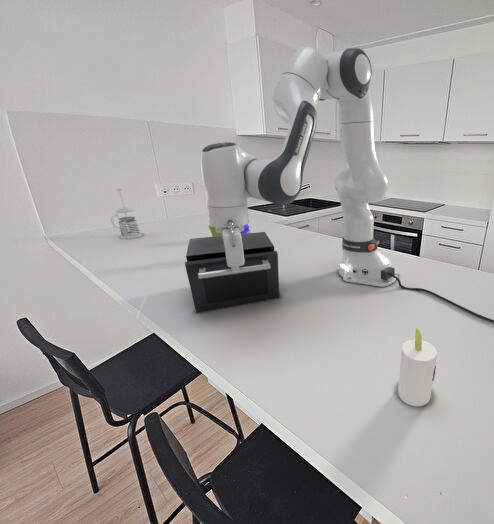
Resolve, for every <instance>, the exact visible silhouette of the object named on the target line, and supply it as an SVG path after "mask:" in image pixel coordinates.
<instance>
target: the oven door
mask: <svg viewBox="0 0 494 524" xmlns="http://www.w3.org/2000/svg"><path fill="white" fill-rule="evenodd" d="M184 266H185V272H186V275H187V279H188V283H189V288H190V292H191V296H192V300H193V305H194V309H195V313H196V314H197V313H203V312H210V311H214V310H221V309H225V308H231V307H237V306H242V305H243V306H244V305H249V304H253V303H259V302H263V301H269V300H275V299H280V278H279V276H280V275H279V253H278V251H277V250H274V251H272V252H264V253H256V254H247V255H244V265H242V266H239V269H240V272H238V273H233V272H232V268H231V267H228V265H227V261H226V257H222V258H214V259H206V260H197V261H189V262H187V261H185V262H184Z"/></svg>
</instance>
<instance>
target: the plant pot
mask: <svg viewBox="0 0 494 524" xmlns="http://www.w3.org/2000/svg"><path fill="white" fill-rule="evenodd" d="M207 227H208V228H209V230H210V234H211V237H215V236H222V234H221V233H218V232H216V227H212V226H210V225H209V224H208V225H207Z"/></svg>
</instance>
